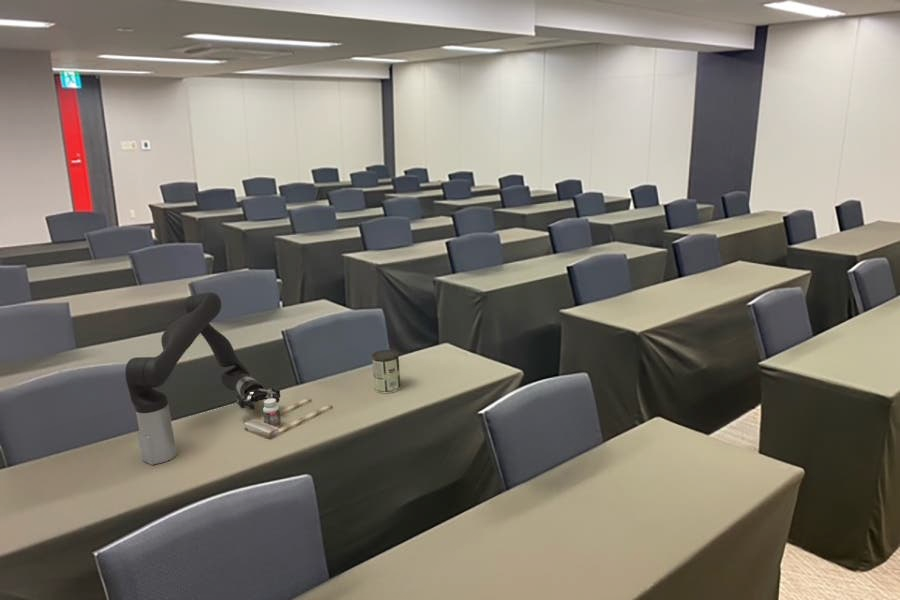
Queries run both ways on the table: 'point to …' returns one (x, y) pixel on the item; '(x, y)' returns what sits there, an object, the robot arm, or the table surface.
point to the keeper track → (271, 431)
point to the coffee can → (386, 371)
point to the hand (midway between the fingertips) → (265, 403)
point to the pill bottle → (271, 413)
